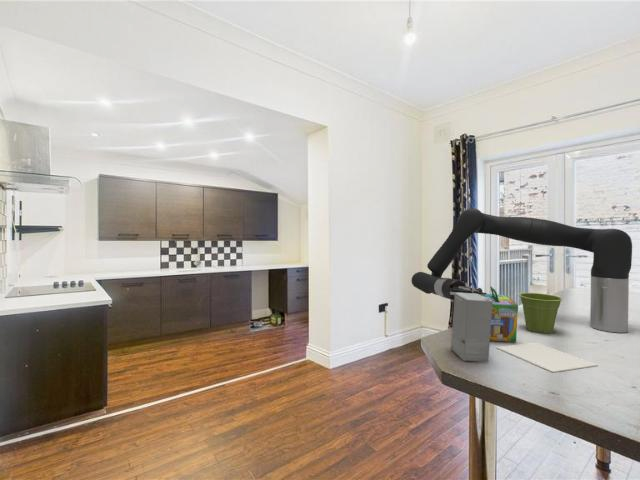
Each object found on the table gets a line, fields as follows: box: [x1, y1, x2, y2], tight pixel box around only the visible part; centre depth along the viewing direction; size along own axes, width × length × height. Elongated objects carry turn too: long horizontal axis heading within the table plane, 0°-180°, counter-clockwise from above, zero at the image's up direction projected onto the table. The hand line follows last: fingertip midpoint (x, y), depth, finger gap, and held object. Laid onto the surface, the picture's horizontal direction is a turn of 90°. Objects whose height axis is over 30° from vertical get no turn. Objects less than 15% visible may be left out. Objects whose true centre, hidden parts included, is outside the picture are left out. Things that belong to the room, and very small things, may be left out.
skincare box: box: [450, 293, 493, 363], centre depth 81 cm, size 8×7×16 cm
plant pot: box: [518, 292, 563, 334], centre depth 102 cm, size 12×12×11 cm
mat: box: [495, 342, 599, 374], centre depth 80 cm, size 16×14×1 cm
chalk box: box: [479, 286, 519, 343], centre depth 94 cm, size 9×9×15 cm
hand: (485, 296), depth 99 cm, fingers closed
